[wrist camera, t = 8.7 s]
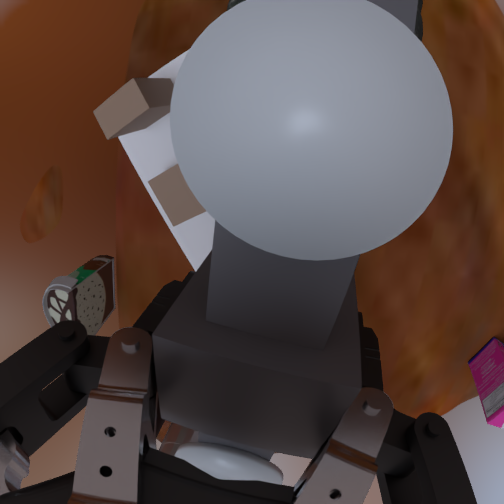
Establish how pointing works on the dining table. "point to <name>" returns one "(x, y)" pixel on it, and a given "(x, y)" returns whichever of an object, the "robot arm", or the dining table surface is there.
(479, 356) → the supplement box
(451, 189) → the dining table surface
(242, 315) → the grey white knobbed bar
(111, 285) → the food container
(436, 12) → the dining table surface
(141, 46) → the dining table surface
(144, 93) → the display stand
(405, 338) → the dining table surface
